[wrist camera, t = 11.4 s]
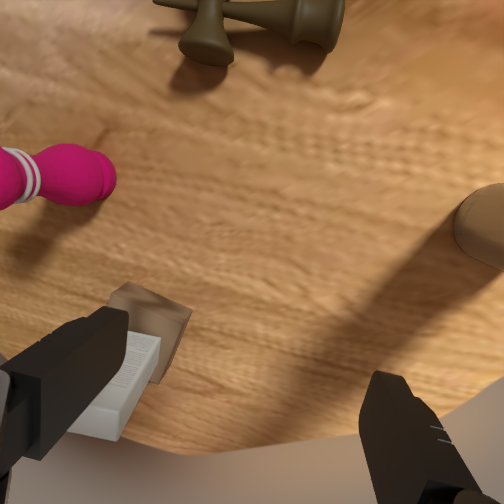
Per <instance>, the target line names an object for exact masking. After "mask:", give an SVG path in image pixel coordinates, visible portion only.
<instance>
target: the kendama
mask: <svg viewBox="0 0 504 504" xmlns="http://www.w3.org/2000/svg"><path fill="white" fill-rule="evenodd" d="M153 3H155V4H157V5H161V6H165V7H171V8H176V9H182V10H188V11H194V12H197V15H196V18H195V20H194V22H193V24H192V25H191V26H190V28H189V29H188V30H187V32H186V33H185V34H184V36H183V37H182V38H181V40H180V41H179V43H178V47H179V50H180V51H181V52H182V53H183V54H184V55H185V56H186V57H188V58H190V59H191V60H193V61H196V62H200V63H203V64H208V65H215V66H224V65H229V64H231V63H232V62H233V61H234V53H233V50H232V47H231V45H230V43H229V40H228V38H227V36H226V33H225V30H224V25H223V20H224V17H226V18H230V19H235V20H239V21H243V22H246V23H250V24H254V25H257V26H260V27H264V28H267V29H270V30H273V31H275V32H278V33H280V34H282V35H284V36H285V37H286V38H287V39H288V40H289V42H290V44H291V45H294V44H296V43H297V42H299V41H309V42H313V43H316V44H318V45H320V46H321V47H322V48H323V50H324V51H325V52H326V53H330V52H332V51H333V49H334V47H335V46H336V43H337V40H338V37H339V34H340V31H341V26H342V22H343V17H344V10H345V0H276V1H262V2H226V0H153Z"/></svg>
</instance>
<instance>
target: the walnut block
mask: <svg viewBox="0 0 504 504" xmlns="http://www.w3.org/2000/svg"><path fill="white" fill-rule="evenodd" d="M107 306H108V307H112V308H116V309H120V310H125V311H127V312H128V314H129V324H128V331H132V332H136V333H141V334H146V335H151V336H156V337H160V338H161V344H160V351H159V360H158V364H157V366H156V367H155V369H154V371H153V373H152V375H151V377H150V379H149V381H150V382H153V383H155V384H157V385H158V384H159V383H160V381H161V380H162V378H163V376H164V375H165V373H166V372H167V370H168V368H169V367H170V365H171V363H172V360H173V358H174V355H175V353H176V350H177V348H178V346H179V343H180V341H181V338H182V336H183V333H184V331H185V328H186V326H187V323H188V321H189V318H190V316H191V313H192V311H193V310H192V309H190V308H187V307H185V306H183V305H181V304H178V303H176V302H174V301H172V300H169V299H167V298H165V297H163V296H161V295H158V294H156V293H154V292H152V291H149V290H147V289H145V288H143V287H140V286H138V285H136V284H134V283H131V282H127V283H126V284H124V285H123V286H121V287H120V288H118V289H117V290H115V291H114V292H112V293H111V295H110V298H109V302H108V305H107Z"/></svg>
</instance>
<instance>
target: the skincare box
mask: <svg viewBox="0 0 504 504" xmlns="http://www.w3.org/2000/svg"><path fill="white" fill-rule="evenodd" d="M160 344H161V338H160V337H156V336H151V335H146V334H141V333H136V332H132V331H128V335H127V346H126V355H125V359H124V362H123V364H122V366H121V368H120V370H119V371H118V373H117V374H116V375H115V376H114V377H113V378H112V380H111V381H110V382H109V383H108V384H107V385H106V386H105V388H104V389H103V390H102V391H101V392H100V393H99V394H98V396H97V397H96V398H95V399H94V400H93V401H92V402H91V404H90V405H89V406H88V407H87V408H86V409H85V410H84V412H83V413H82V414H81V415H80V416H79V417H78V418H77V420H76V421H75V422H74V423H73V424H72V425H71V426H70V428H69V429H68V430H67V431H66V432H72V433H77V434H83V435H87V436H91V437H96V438H101V439H106V440H111V441H115V442H116V441H117V440H118V439H119V437H120V435H121V433H122V431H123V429H124V427H125V425H126V423H127V421H128V420H129V418H130V416H131V414H132V412H133V410H134V408H135V406H136V404H137V402H138V400H139V398H140V396H141V394H142V392H143V391H144V389H145V387H146V385H147V383H148V381H149V379H150V377H151V375H152V373H153V371H154V369H155V367H156V366H157V364H158V360H159V351H160Z"/></svg>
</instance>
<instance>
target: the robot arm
mask: <svg viewBox="0 0 504 504" xmlns="http://www.w3.org/2000/svg"><path fill="white" fill-rule="evenodd" d="M454 235H455V239H456V241H457V243H458V245H459V247H460V248H461V249H462V250H463V251H464V252H465V253H467V254H468V255H469V256H471V257H473V258H475V259H478V260H480V261H482V262H484V263H486V264H488V265H490V266H492V267H495V268H497V269H499V270H501V271H503V272H504V183H498V184H493V185H488V186H486V187H483V188H481V189H479V190H477V191H476V192H474V193H473V194H471V195H470V196H469V197H468V198H467V199H466V200H465V201H464V202H463V204H462V205H461V206H460V208H459V210H458V212H457V214H456V216H455V220H454ZM128 324H129V314H128V312H127V311H125V310H120V309H116V308H112V307H108V306H103V307H101V308H99V309H98V310H97V311H95V312H94V313H92V314H91V315H89V316H88V317H87V318H86V317H81V318H78V319H75V320H73V321H70V322H67V323H65V324H63V325H62V326H60V327H59V328H57V329H56V330H54V331H53V332H52V334H48V335H47V336H45V337H44V338H42V339H41V341H37V342H36V343H34V344H33V345H31V346H30V347H28V348H27V349H25V350H24V351H22V352H21V353H19V354H18V355H16V356H15V357H13V358H12V359H10V360H9V361H7V362H6V363H4V364H3V365H1V366H0V504H8V498H9V491H10V483H11V475H12V466H13V465H14V464H15V463H16V462H17V461H18V460H19V459H20V458H21V457H22V456H24V457H27V458H32V459H35V460H39V461H41V460H42V458H43V457H44V456H45V455H46V454H47V453H48V452H49V450H50V449H51V448H52V447H53V446H54V445H55V443H56V442H57V441H58V440H59V439H60V438H61V437H62V436H63V434H64V433H65V432H66V431H67V430H68V429H69V428H70V426H71V425H72V424H73V423H74V422H75V421H76V420H77V418H78V417H79V416H80V415H81V414H82V413H83V412H84V410H85V409H86V408H87V407H88V406H89V405H90V404H91V402H92V401H93V400H94V399H95V398H96V397H97V396H98V394H99V393H100V392H101V391H102V390H103V389H104V388H105V386H106V385H107V384H108V383H109V382H110V381H111V380H112V378H113V377H114V376H115V375H116V374H117V373H118V371H119V370H120V368H121V366H122V364H123V362H124V359H125V355H126V346H127V335H128ZM359 434H360V438H361V442H362V445H363V449H364V453H365V457H366V461H367V464H368V468H369V472H370V476H371V480H372V483H373V487H374V491H375V495H376V499H377V502H378V504H501V503H499V502H498V501H496V500H495V499H493V498H491V497H489V496H487V495H485V494H483V493H482V491H481V489H480V488H479V486H478V484H477V483H476V481H475V479H474V478H473V476H472V474H471V473H470V471H469V470H468V468H467V466H466V465H465V463H464V461H463V459H462V458H461V456H460V454H459V453H458V451H457V449H456V448H455V446H454V445H452V444H451V442H452V441H451V440H450V438H449V436H448V434H447V433H446V431H444V430H443V426H442V424H441V423H440V421H439V419H438V418H437V416H436V414H435V413H434V412H433V411H432V410H431V409H430V408H429V407H428V406H427V405H426V404H425V403H424V402H423V401H422V400H421V399H420V398H418V397H414V395H413V394H412V392H411V390H410V388H409V386H408V384H407V383H406V381H405V379H404V378H403V377H402V376H399V375H395V374H391V373H386V372H382V371H378V370H377V371H375V372H374V373H373V375H372V377H371V380H370V383H369V386H368V389H367V392H366V395H365V398H364V401H363V404H362V407H361V410H360V414H359Z"/></svg>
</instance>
